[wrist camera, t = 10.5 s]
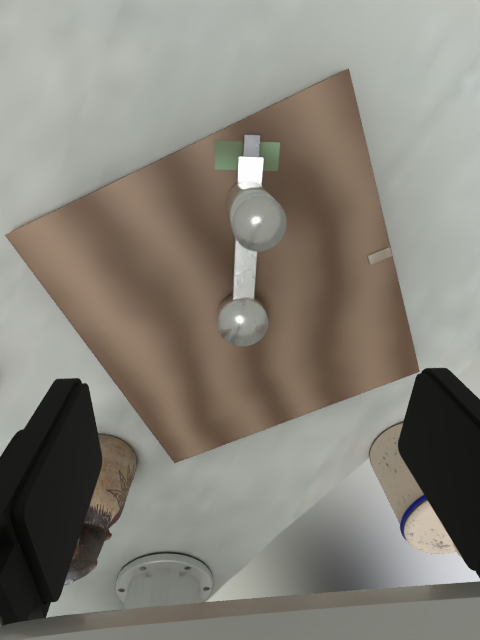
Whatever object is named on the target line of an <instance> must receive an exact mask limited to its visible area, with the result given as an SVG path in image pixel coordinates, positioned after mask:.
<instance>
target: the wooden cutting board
mask: <svg viewBox="0 0 480 640" xmlns="http://www.w3.org/2000/svg"><path fill="white" fill-rule="evenodd" d="M243 135H260V146H259V157H262V158H263V172H262V187H263V188H264V189H265V190H266V191H267V192H268V193H269V194H270V195H271V196H272V197H273V198H274V199H275V200H276V201H277V202H278V203H279V204H280V205H281V207H282V208H283V210H284V212H285V215H286V221H287V224H286V230H285V233H284V235H283V237H282V239H281V240H280V241H279V242H278V243H277V244H276V245H275V246H274V247H272V248H270V249H268V250H265V251H257V260H256V275H255V290H254V296H255V297H257V298H258V299H259V300H260V301H261V302H262V304H263V305H264V308H265V311H266V314H267V317H268V328H267V331H266V333H265V335H264V336H263V337H262V338H261V339H260V340H259V341H258V342H256V343H254V344H252V345H249V346H235V345H232V344H230V343H228V342H226V341H225V340H224V339H223V338H222V337H221V335H220V333H219V331H218V323H217V312H218V309H219V306H220V305H221V303H222V302H223V301H224V300H225V299H226V298H228V297H229V296H231V295H233V271H234V245H235V237H234V234H233V231H232V227H231V223H230V218H229V214H228V210H227V205H226V200H227V195H228V193H229V191H230V189H231V188H232V187H233V186H234V185H235V184H236V183H237V168H238V156H242V155H243ZM5 236H6V237H7V239H8V240H9V241H10V243H11V244H12V245H13V247H14V248H15V249H16V251H17V252H18V253H19V255H20V256H21V257H22V259H23V260H24V261H25V263H26V264H27V265H28V267H29V268H30V270H31V271H32V272H33V274H34V275H35V276H36V278H37V279H38V280H39V282H40V283H41V284H42V286H43V287H44V288H45V290H46V291H47V292H48V294H49V295H50V296H51V298H52V299H53V300H54V302H55V303H56V304H57V306H58V307H59V308H60V310H61V311H62V312H63V314H64V315H65V316H66V318H67V319H68V321H69V322H70V323H71V325H72V326H73V327H74V329H75V330H76V331H77V333H78V334H79V335H80V337H81V338H82V339H83V341H84V342H85V343H86V345H87V346H88V347H89V349H90V350H91V351H92V353H93V354H94V355H95V357H96V358H97V359H98V361H99V362H100V363H101V365H102V366H103V368H104V369H105V370H106V372H107V373H108V374H109V376H110V377H111V378H112V380H113V381H114V382H115V384H116V385H117V386H118V388H119V389H120V390H121V392H122V393H123V394H124V396H125V397H126V398H127V400H128V401H129V402H130V404H131V405H132V406H133V408H134V409H135V410H136V412H137V413H138V414H139V416H140V417H141V419H142V420H143V421H144V423H145V424H146V425H147V427H148V428H149V429H150V431H151V432H152V433H153V435H154V436H155V437H156V439H157V440H158V441H159V443H160V444H161V445H162V447H163V448H164V449H165V451H166V452H167V453H168V455H169V456H170V457H171V459H172V460H173V461H174V463H176V462H179V461H182V460H184V459H187V458H190V457H192V456H195V455H198V454H200V453H203V452H206V451H209V450H211V449H214V448H217V447H219V446H222V445H225V444H227V443H230V442H233V441H235V440H238V439H241V438H243V437H246V436H249V435H251V434H254V433H257V432H259V431H262V430H265V429H267V428H270V427H273V426H275V425H278V424H281V423H283V422H286V421H289V420H291V419H294V418H297V417H300V416H302V415H305V414H308V413H310V412H313V411H316V410H318V409H321V408H324V407H326V406H329V405H332V404H334V403H337V402H340V401H342V400H345V399H348V398H350V397H353V396H356V395H358V394H361V393H364V392H366V391H369V390H372V389H374V388H377V387H380V386H382V385H385V384H388V383H391V382H393V381H396V380H399V379H401V378H404V377H407V376H409V375H412V374H415V373H417V372H420V371H419V367H418V363H417V359H416V354H415V350H414V346H413V341H412V337H411V333H410V329H409V324H408V320H407V316H406V312H405V307H404V303H403V299H402V294H401V290H400V286H399V282H398V277H397V273H396V269H395V265H394V260H393V256H392V252H391V247H390V243H389V239H388V235H387V230H386V226H385V222H384V217H383V213H382V209H381V205H380V200H379V196H378V192H377V188H376V183H375V179H374V175H373V170H372V166H371V162H370V158H369V153H368V149H367V145H366V140H365V136H364V132H363V128H362V123H361V119H360V115H359V111H358V106H357V102H356V98H355V93H354V89H353V85H352V81H351V76H350V72H349V69H347V70H344V71H342V72H340V73H338V74H336V75H334V76H332V77H330V78H328V79H326V80H324V81H322V82H319V83H317V84H315V85H313V86H311V87H309V88H307V89H305V90H303V91H301V92H299V93H297V94H295V95H293V96H291V97H288V98H286V99H284V100H282V101H280V102H278V103H276V104H274V105H272V106H270V107H268V108H266V109H264V110H262V111H260V112H258V113H255V114H253V115H251V116H249V117H247V118H245V119H243V120H241V121H239V122H237V123H235V124H233V125H231V126H229V127H227V128H224V129H222V130H220V131H218V132H216V133H214V134H212V135H210V136H208V137H206V138H204V139H202V140H200V141H198V142H196V143H193V144H191V145H189V146H187V147H185V148H183V149H181V150H179V151H177V152H175V153H173V154H171V155H169V156H167V157H165V158H163V159H160V160H158V161H156V162H154V163H152V164H150V165H148V166H146V167H144V168H142V169H140V170H138V171H136V172H134V173H132V174H129V175H127V176H125V177H123V178H121V179H119V180H117V181H115V182H113V183H111V184H109V185H107V186H105V187H103V188H101V189H99V190H96V191H94V192H92V193H90V194H88V195H86V196H84V197H82V198H80V199H78V200H76V201H74V202H72V203H70V204H68V205H65V206H63V207H61V208H59V209H57V210H55V211H53V212H51V213H49V214H47V215H45V216H43V217H41V218H39V219H37V220H34V221H32V222H30V223H28V224H26V225H24V226H22V227H20V228H18V229H16V230H14V231H12V232H10V233H8V234H6V235H5Z"/></svg>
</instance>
